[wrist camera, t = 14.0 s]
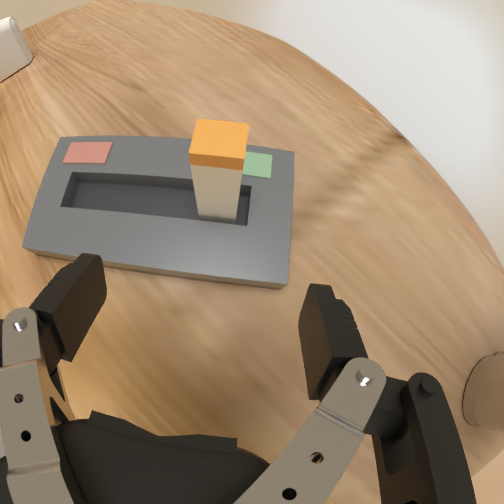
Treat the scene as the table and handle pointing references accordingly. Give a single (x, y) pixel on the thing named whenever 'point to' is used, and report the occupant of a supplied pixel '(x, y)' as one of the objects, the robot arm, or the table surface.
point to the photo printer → (12, 48)
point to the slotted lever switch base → (162, 211)
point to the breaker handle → (217, 168)
